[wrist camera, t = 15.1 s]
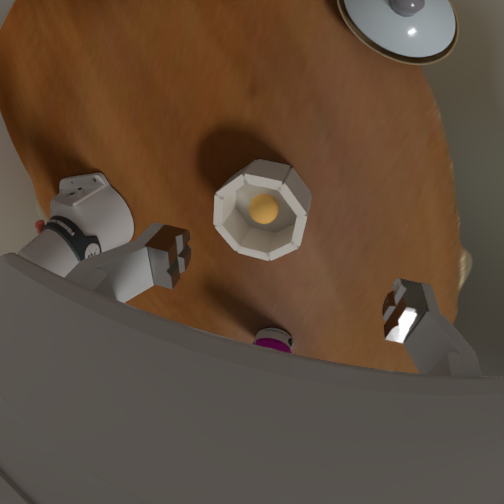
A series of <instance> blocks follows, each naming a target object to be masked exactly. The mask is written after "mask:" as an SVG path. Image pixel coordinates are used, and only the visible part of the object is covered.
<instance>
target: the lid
mask: <svg viewBox="0 0 504 504" xmlns="http://www.w3.org/2000/svg"><path fill="white" fill-rule="evenodd" d="M344 4H345V7H346V10H347V12H348V15H349V17H350V18H351V20H352V22H353V23H354V24H355V26H356V27H357V28H358V29H359V30H360V31H361V32H362V33H363V34H364V35H365V36H366V37H367V38H368V39H370V40H371V41H372V42H374V43H375V44H377V45H378V46H380V47H382V48H384V49H386V50H388V51H390V52H393V53H395V54H398V55H402V56H407V57H426V56H431V55H434V54H437V53H439V52H441V51H443V50H444V49H445V48H446V47H447V46H448V45H449V44H450V42H451V41H452V39H453V36H454V33H455V16H454V13H453V9H452V7H451V5H450V3H449V1H448V0H344Z"/></svg>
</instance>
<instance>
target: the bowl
mask: <svg viewBox="0 0 504 504" xmlns="http://www.w3.org/2000/svg"><path fill="white" fill-rule="evenodd" d="M290 167H291V165H286V164H282V163H277V162H272V161H267V160H262V159H258V160H256V159H255V160H254V161H253V162H251V163H250V164H248V165H247V166H245V167H244V168H243V169H241V170H240V171H238V172H237V173H236V174H234V175H233V176H232V177H231V178H230V179H229V180H228V181H227V182H226V183H225V184H224V185H223V186H222V187H221V188H220V189H219V190H218V191H217V192H216V194H215V196H214V225H216V226H215V228H216V229H217V231H218V232H219V233H220V234H221V235H222V236H223V238H224V239H225V240H226V241H227V242H228V244H229V245H230V246H231V247H232V248H233V249H234V251H237V250H238V252H237V253H240V254H244V255H248V256H252V257H256V258H259V259H263V260H267V261H269V259H270V260H271V261H272V260H274V259H276V258H278V257H280V256H283V255H285V254H287V253H289V252H291V251H293V250H296V249H298V248H299V246H300V244H301V240H302V236H303V232H304V228H305V224H306V220H307V216H308V211H309V207H310V203H311V199H312V196H311V194H312V193H311V192H310V190H309V189H308V187H307V186H306V184H305V183H304V182H303V180H302V179H301V177H300V176H299V175H298V173H297V172H296V170H295V169H294V168H293V167H292V168H291V169H290ZM260 194H268V195H271V196H272V197H274V198H275V199H276V201H277V202H278V205H279V213H278V216H277V217H276V219H275V220H274V221H272V222H270V223H267V224H261V223H258V222H256V221H254V220H253V219H252V217H251V216H250V213H249V205H250V202H251V200H252V199H253V198H254V197H255V196H257V195H260Z"/></svg>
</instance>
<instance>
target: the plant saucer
mask: <svg viewBox="0 0 504 504" xmlns="http://www.w3.org/2000/svg"><path fill="white" fill-rule="evenodd" d="M448 1H449V3H450V5H451V7H452V9H453V13H454V16H455V33H454V36H453V39H452V41H451V42H450V44H449V45H448V46H447V47H446V48H445V49H444V50H443V51H441V52H439V53H437V54H434V55H431V56H426V57H407V56H402V55H398V54H395V53H393V52H390V51H388V50H386V49H384V48H382V47H380V46H378V45H377V44H375V43H374V42H372V41H371V40H370V39H368V38H367V37H366V36H365V35H364V34H363V33H362V32H361V31H360V30H359V29H358V28H357V27H356V26H355V24H354V23H353V22H352V20H351V18H350V17H349V15H348V12H347V10H346V7H345V4H344V0H337V4H338V8H339V11H340V13H341V15H342V18H343V19H344V21H345V23H346V24H347V26H348V27H349V28H350V30H351V31H352V32H353V33H354V34H355V35H356V37H357V38H359V39H360V40H361V41H362V42H363V43H364V44H365V45H367V46H368V47H369V48H371V49H372V50H374V51H375V52H377V53H379V54H380V55H382V56H384V57H387V58H389V59H391V60H394V61H397V62H400V63H405V64H411V65H428V64H433V63H436V62H438V61H440V60H443V59H444V58H445V57H447V56H448V55H449V54H450V53H451V51H452V50H453V49H454V47H455V45H456V42H457V40H458V35H459V24H458V19H457V15H456V12H455V9H454V7H453V5H452V3H451V1H450V0H448Z"/></svg>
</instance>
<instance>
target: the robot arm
mask: <svg viewBox="0 0 504 504" xmlns="http://www.w3.org/2000/svg"><path fill="white" fill-rule="evenodd" d="M59 192H60V193H59V194H57V195H56V196H55V197H54V198H53V199H52V200H51V204H50V220H49V221H48V222H47V224H46V225H45V224H44V220H40V221H37V223H35V226H36V228H37V232H38V233H39V235H38V236H37V237H35V238H34V239H33V240H32V241H31V242H29V243H28V244H27V245H26V246H25V247H24V248H23V249H21V250H20V251H19V252H18V254H16V253H8V254H5V255H2V256H0V504H504V377H481V373H480V368H479V364H478V360H477V356H476V353H475V352H474V351H473V349H472V348H471V347H470V346H469V344H468V343H467V342H466V341H465V340H464V338H463V337H462V336H461V335H460V334H459V332H458V331H457V330H456V329H455V328H454V326H453V325H452V324H451V323H450V322H449V321H448V319H447V318H446V317H445V316H444V315H442V314H440V311H439V308H438V304H437V301H436V298H435V295H434V292H433V289H432V286H431V285H430V284H425V283H420V282H419V283H418V282H414V281H410V280H405V279H401V278H397V279H396V280H395V281H394V283H393V285H392V287H393V291H392V292H390V293H388V294H387V296H386V298H385V300H384V304H383V310H382V313H383V318H384V319H385V320H386V323H385V325H384V334H385V339H386V340H391V341H396V342H402V343H403V345H404V346H405V348H406V350H407V352H408V353H409V355H410V357H411V359H412V360H413V362H414V364H415V366H416V368H417V369H418V371H419V373H420V374H417V373H407V372H398V371H390V370H382V369H374V368H368V367H361V366H354V365H348V364H342V363H337V362H331V361H326V360H320V359H315V358H310V357H305V356H301V355H296V354H291V353H287V352H283V351H278V350H274V349H270V348H266V347H262V346H258V345H254V344H250V343H246V342H242V341H239V340H235V339H231V338H228V337H224V336H221V335H217V334H214V333H210V332H207V331H204V330H200V329H197V328H194V327H191V326H188V325H184V324H181V323H178V322H175V321H172V320H169V319H166V318H163V317H161V316H158V315H155V314H152V313H149V312H147V311H144V310H141V309H138V308H136V307H133V306H130V305H128V304H125V303H124V302H126V301H128V300H129V299H131V298H133V297H135V296H136V295H138V294H140V293H141V292H143V291H145V290H146V289H148V288H150V287H152V286H153V285H154V284H155V285H159V286H162V287H166V288H170V289H173V288H174V287H175V285H176V284H177V282H178V281H179V279H180V273H182V272H184V271H185V270H186V269H187V267H188V265H189V262H190V259H191V248H190V247H189V245H188V244H187V243H188V242H189V241H190V232H189V231H188V230H186V229H182V228H178V227H174V226H170V225H165V224H161V223H153V224H151V225H150V226H149V227H148V228H147V229H146V230H145V231H144V232H143V233H142V234H141V235H140V236H139V237H138V238H137V239H136V240H135V241H134V242H133V243H130V242H129V241H130V240H131V238H132V236H133V232H134V224H133V219H132V215H131V213H130V210H129V208H128V206H127V204H126V203H125V201H124V200H123V198H122V197H121V196H120V195H119V194H118V193H117V192H116V191H115V190H114V189H113V188H112V187H111V186H110V184H109V183H108V181H107V179H106V178H105V176H104V175H103V174H102V173H92V174H85V175H79V176H73V177H67V178H63V179H62V180H61V181H60V186H59ZM128 242H129V243H128ZM126 243H127V244H126Z"/></svg>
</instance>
